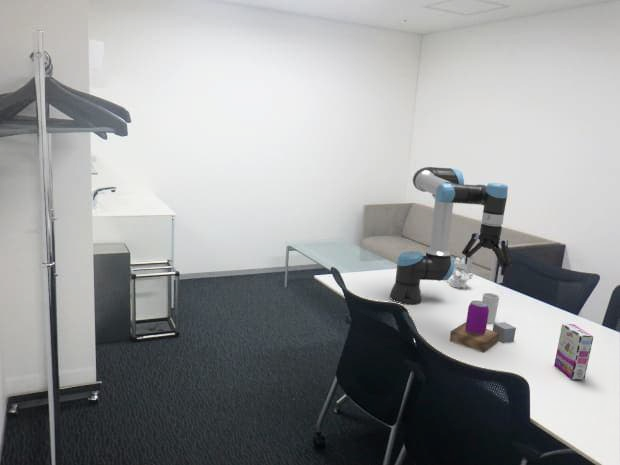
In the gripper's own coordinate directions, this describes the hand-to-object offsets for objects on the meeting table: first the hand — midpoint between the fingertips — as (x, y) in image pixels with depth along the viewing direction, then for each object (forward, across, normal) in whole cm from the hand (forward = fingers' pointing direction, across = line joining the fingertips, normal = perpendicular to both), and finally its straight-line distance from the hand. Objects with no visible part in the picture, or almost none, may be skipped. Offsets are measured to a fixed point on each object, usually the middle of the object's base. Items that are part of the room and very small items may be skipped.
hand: (483, 277), depth 190 cm
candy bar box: (+26, +34, +7) cm, 44 cm away
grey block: (+26, +5, +13) cm, 30 cm away
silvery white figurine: (+27, -48, +60) cm, 82 cm away
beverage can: (+22, 0, 0) cm, 23 cm away
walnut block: (+26, 0, 0) cm, 26 cm away
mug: (+27, -11, +27) cm, 39 cm away
